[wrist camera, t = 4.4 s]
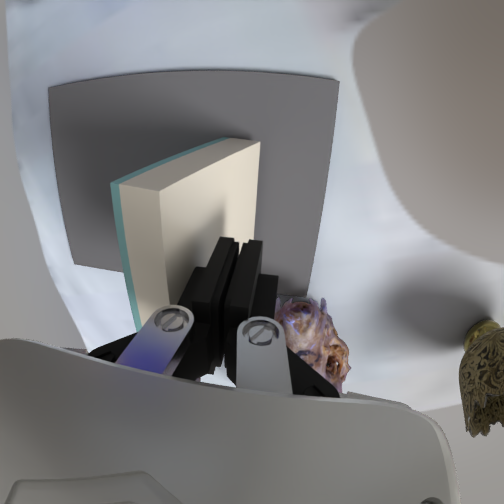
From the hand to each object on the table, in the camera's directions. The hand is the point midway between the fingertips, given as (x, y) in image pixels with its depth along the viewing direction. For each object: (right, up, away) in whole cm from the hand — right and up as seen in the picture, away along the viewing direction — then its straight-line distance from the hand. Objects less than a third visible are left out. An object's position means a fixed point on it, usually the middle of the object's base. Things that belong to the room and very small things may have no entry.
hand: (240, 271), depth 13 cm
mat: (-4, +5, +5) cm, 8 cm away
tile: (0, +3, +5) cm, 6 cm away
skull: (+4, -6, +10) cm, 13 cm away
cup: (+19, -6, +8) cm, 22 cm away
